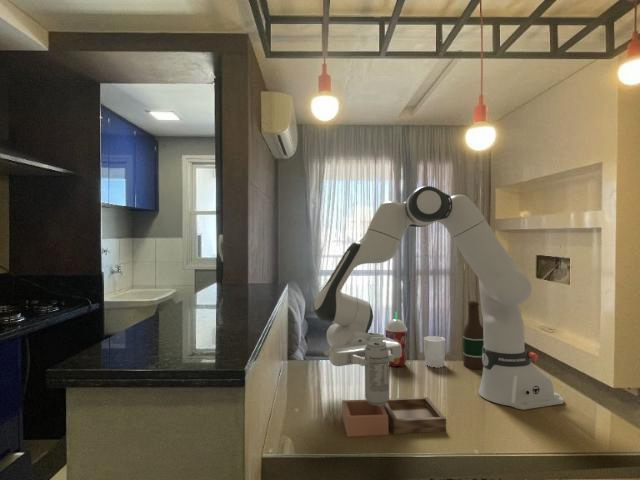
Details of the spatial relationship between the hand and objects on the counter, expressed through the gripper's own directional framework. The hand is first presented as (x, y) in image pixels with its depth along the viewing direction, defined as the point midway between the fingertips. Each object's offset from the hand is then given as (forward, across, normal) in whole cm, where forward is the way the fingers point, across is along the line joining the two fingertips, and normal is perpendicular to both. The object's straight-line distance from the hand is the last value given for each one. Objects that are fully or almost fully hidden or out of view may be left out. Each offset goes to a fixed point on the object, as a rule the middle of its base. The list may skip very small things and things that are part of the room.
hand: (378, 360), depth 95 cm
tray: (0, +9, +17) cm, 19 cm away
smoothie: (-40, +29, +17) cm, 52 cm away
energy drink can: (-1, 0, +11) cm, 11 cm away
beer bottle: (-28, +54, +17) cm, 64 cm away
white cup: (-35, +42, +17) cm, 57 cm away
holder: (-2, -4, +16) cm, 17 cm away
